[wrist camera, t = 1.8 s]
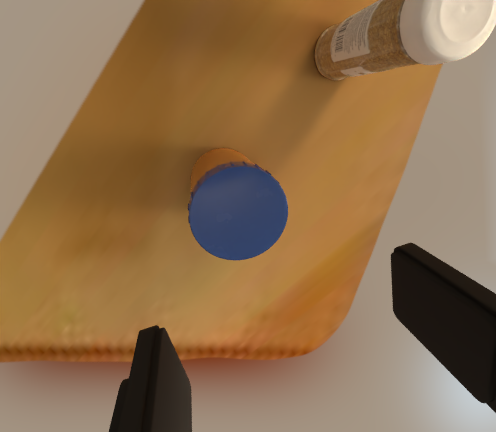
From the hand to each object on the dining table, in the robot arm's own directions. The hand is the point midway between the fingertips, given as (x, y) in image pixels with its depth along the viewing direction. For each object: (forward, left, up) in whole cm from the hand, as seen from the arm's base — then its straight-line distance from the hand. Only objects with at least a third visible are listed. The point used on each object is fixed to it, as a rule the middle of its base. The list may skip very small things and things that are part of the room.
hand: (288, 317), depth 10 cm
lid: (0, 0, -11) cm, 11 cm away
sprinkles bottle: (-14, +7, -20) cm, 26 cm away
